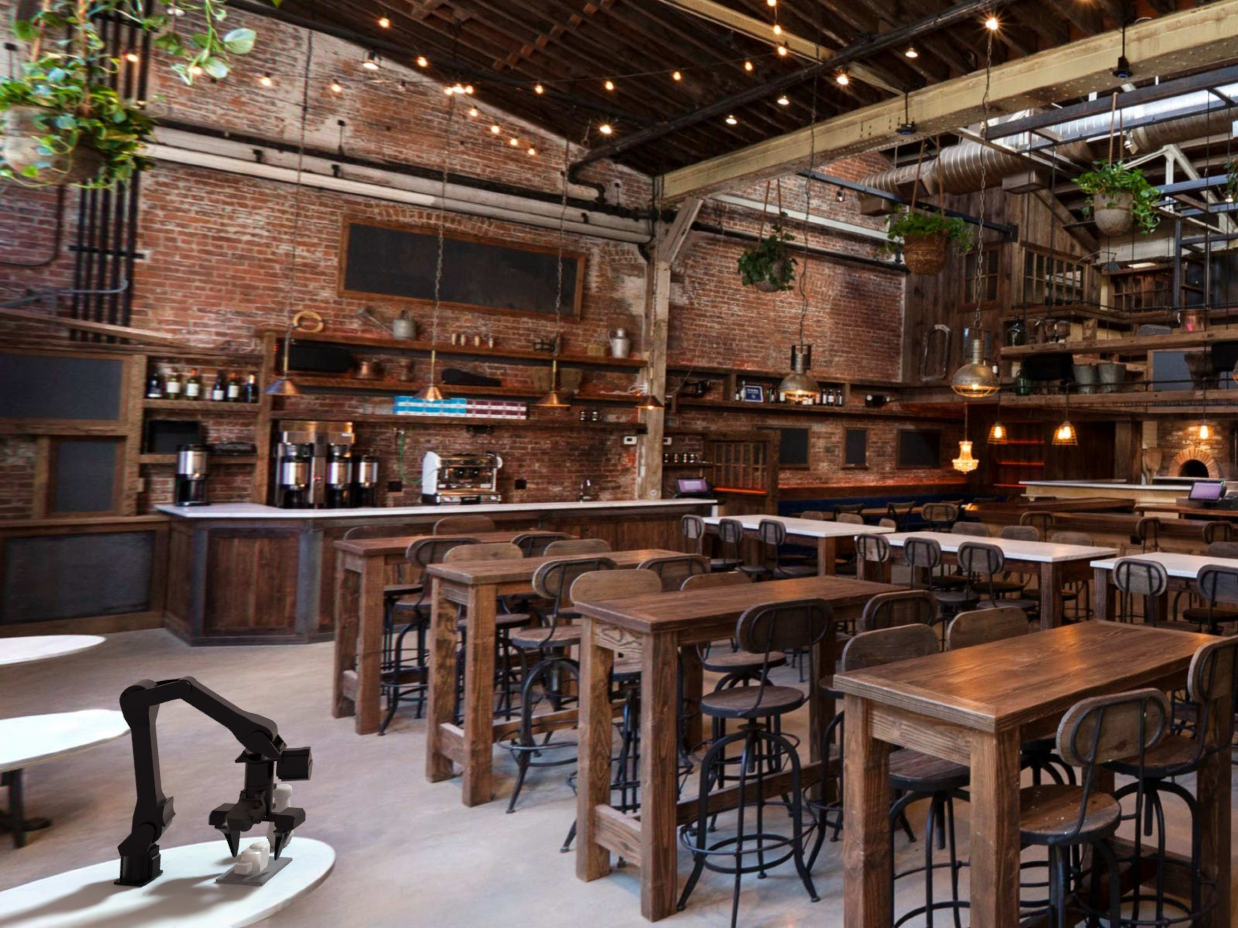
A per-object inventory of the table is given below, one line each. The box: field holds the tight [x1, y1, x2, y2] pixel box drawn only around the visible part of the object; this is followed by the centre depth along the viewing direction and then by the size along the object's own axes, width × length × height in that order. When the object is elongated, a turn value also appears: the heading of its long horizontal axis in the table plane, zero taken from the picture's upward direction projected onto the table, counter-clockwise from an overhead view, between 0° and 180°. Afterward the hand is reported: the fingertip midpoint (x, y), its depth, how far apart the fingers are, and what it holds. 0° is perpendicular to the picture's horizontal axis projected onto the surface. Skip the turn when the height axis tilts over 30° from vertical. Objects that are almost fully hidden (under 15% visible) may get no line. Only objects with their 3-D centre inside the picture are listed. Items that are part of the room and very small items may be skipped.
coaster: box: [215, 855, 293, 886], centre depth 171 cm, size 10×12×1 cm
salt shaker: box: [265, 783, 295, 849], centre depth 185 cm, size 6×6×13 cm
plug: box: [234, 841, 271, 876], centre depth 170 cm, size 9×4×4 cm, turn 173°
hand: (255, 858), depth 171 cm, fingers open, 9 cm apart
